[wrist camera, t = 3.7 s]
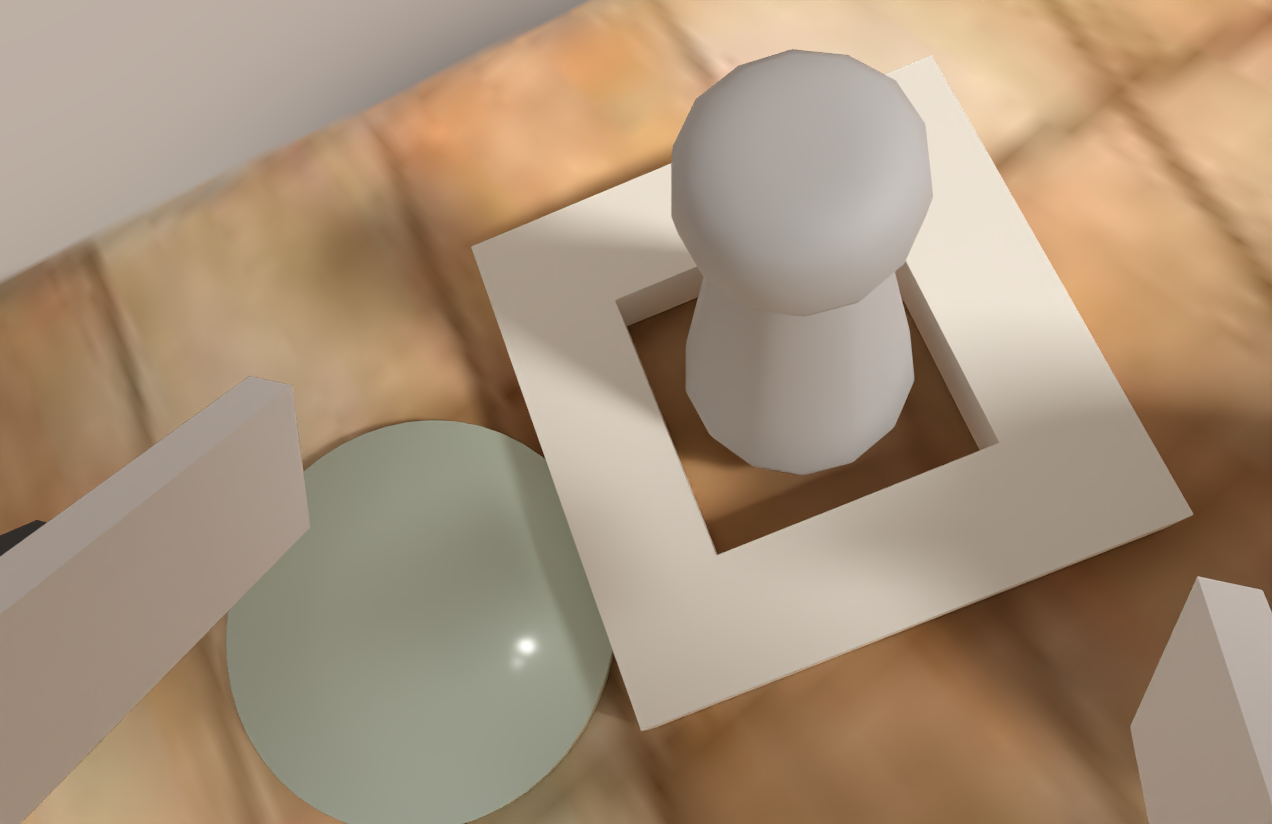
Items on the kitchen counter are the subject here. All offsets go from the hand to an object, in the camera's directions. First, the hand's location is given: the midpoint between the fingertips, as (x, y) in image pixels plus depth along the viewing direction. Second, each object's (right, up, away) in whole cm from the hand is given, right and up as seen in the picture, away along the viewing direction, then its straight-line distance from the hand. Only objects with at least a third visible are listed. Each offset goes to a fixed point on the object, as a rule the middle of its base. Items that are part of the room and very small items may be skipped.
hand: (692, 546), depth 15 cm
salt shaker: (+4, +3, +13) cm, 14 cm away
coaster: (-7, -4, +13) cm, 15 cm away
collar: (+4, +3, +13) cm, 14 cm away
